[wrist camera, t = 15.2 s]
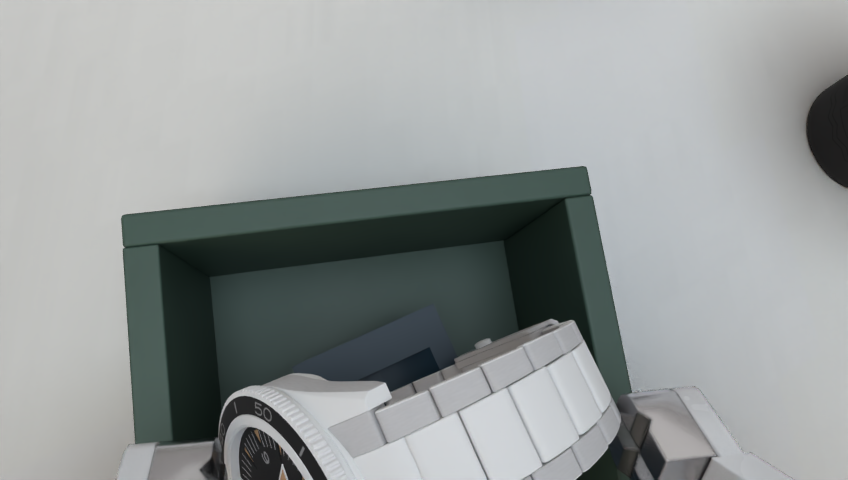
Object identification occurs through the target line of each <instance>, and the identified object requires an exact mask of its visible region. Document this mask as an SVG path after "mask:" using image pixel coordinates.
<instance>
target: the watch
mask: <svg viewBox="0 0 848 480" xmlns="http://www.w3.org/2000/svg"><path fill="white" fill-rule="evenodd" d="M475 348H476V349H474V350H472V351H469V352H467V353H465V354H462V355H461V356H459V357H458V356H457V354H456V352H455V350H454V348H453V346H452V343H451V341H450V339H449V337H448V335H447V332H446V330H445V328H444V326H443V324H442V321H441V319H440V317H439V315H438V313H437V310H436V308H435V306H434V304H431V305H429V306H427V307H424V308H422V309H420V310H418V311H416V312H413V313H411V314H409V315H407V316H404V317H402V318H400V319H398V320H395V321H393V322H391V323H389V324H386V325H384V326H382V327H380V328H378V329H375V330H373V331H371V332H369V333H366V334H364V335H362V336H360V337H357V338H355V339H353V340H351V341H349V342H346V343H344V344H342V345H340V346H337V347H335V348H333V349H331V350H328V351H326V352H324V353H322V354H319V355H317V356H315V357H313V358H311V359H308V360H306V361H304V362H302V363H299V364H297V365H295V366H293V367H292V369H293V371H294V373H293V374H289V375H286V376H283V377H281V378H278V379H276V380H273V381H271V382H269V383H266V384H264V385H262V386H260V385H258V386H257V385H255V386H249V387H246V388H244V389H241V390H239V391H236V392H235V393H233V394H232V395H231V396H230V397H229V398H228V399H227V401H226V403H225V404H224V406H223V409H222V413H221V416H220V421H219V433H218V436H219V440H220V444H221V447H222V451H221V460H220V461H221V462H223V463H224V464H226V469H227V474H228V480H576V479H577V478H578V477H579V476H580V475H581V474H582V472H585V471H587V470H588V469H590V468H591V467H592V466H593V465H594V464H595V463H596V462H597V461H598V459H599V458H600V457H601V456H602V455H603V454H604V453H605V451H606V450H607V449H608V444H610V443H611V442H612V441H613V439H614V438H615V436H616V434H617V432H618V430H619V427H620V423H621V415H620V412H619V410H618V408H617V406H616V404H615V402H614V400H613V398H612V396H611V394H610V392H609V390H608V388H607V386H606V384H605V382H604V380H603V378H602V376H601V373H600V371H599V369H598V367H597V365H596V363H595V361H594V359H593V357H592V355H591V353H590V351H589V349H588V347H587V345H586V343H585V341H584V340H583V337H582V335H581V333H580V331H579V329H578V327H577V325H576V323H575V321H574V320H569V321H566V322H562V323H559V322H558V321H556V320H553V319H549V320H547V321H544V322H541V323H539V324H536V325H533V326H531V327H528V328H526V329H523V330H521V331H518V332H516V333H513V334H511V335H508V336H506V337H503V338H501V339H498V340H496V341H493V342H491V340H490V338H487V339H484V340H481V341H479V342H477V343H476V344H475Z"/></svg>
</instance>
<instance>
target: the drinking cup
mask: <svg viewBox="0 0 848 480" xmlns="http://www.w3.org/2000/svg"><path fill="white" fill-rule="evenodd" d="M807 129H808V138H809V142H810V146H811V149H812V151H813V153H814V155H815V157H816V159H817V161H818V162H819V164H820V165H821V167H822V168H823V169H824V170H825V171H826V172H827V173H828V174H829V175H830V176H831V177H832V178H833V179H834V180H836V181H837V182H838V183H840V184H842V185H843V186H845V187H848V75H846V76H845V77H844V78H842V79H841V80H839V81H838V82H836V83H835V84H833V85H832V86H830V87H829V88H827V89H826V90H825V91H823V92H822V93H821V94H820V95H819V96H818V97H817V99H816V100H815V102H814V103H813V105H812V107H811V110H810V113H809V117H808V126H807Z"/></svg>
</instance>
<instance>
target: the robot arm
mask: <svg viewBox="0 0 848 480" xmlns="http://www.w3.org/2000/svg"><path fill="white" fill-rule="evenodd" d="M616 406H617V408H618V410H619V412H620V415H621V423H620V427H619V430H618V432H617V434H616V436H615V438H614V439H613V441H612V442H611V443H610V444H609V449H610V453H611V456H612V459H613V461H614V463H615V465H616V467H617V469H618V470H619V471H621V472H622V473H623V474H625V475H626V476H627V477H629V480H794V479H792V478H791V477H789V476H788V475H786V474H785V473H783V472H781V471H780V470H778V469H777V468H775V467H773V466H772V465H770V464H769V463H767V462H766V461H764V460H762V459H761V458H759V457H758V456H756V455H754V454H753V453H744V452H743V450H742V449H741V448H740V446H739V445H738V443H737V442H736V441H735V439H734V438H733V436H732V435H731V433H730V432H729V431H728V429H727V428H726V426H725V425H724V423H723V422H722V421H721V419H720V418H719V416H718V415H717V413H716V412H715V411H714V409H713V408H712V406H711V405H710V404H709V402H708V401H707V399H706V398H705V396H704V395H703V394H702V392H701V391H700V390H699V389H698V388H696V387H695V386H692V387H682V388H673V389H659V390H650V391H642V392H634V393H625V394H622V395H621V396H620V397H619V398H618V401H617V404H616ZM221 451H222V447H221V444H220V440H219V437H211V438H198V439H186V440H173V441H160V442H150V443H139V444H129V445H128V446H127V448H126V450H125V451H124V453H123V455H122V459H121V462H120V466H119V469H118V473H117V476H116V479H115V480H228V474H227V469H226V464H224V463H223V462H221V461H220V460H221Z"/></svg>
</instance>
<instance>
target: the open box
mask: <svg viewBox="0 0 848 480" xmlns="http://www.w3.org/2000/svg"><path fill="white" fill-rule="evenodd" d="M590 194H591V187H590V182H589V177H588V172H587V168H586V167H584V166H580V167H571V168H561V169H552V170H542V171H533V172H523V173H514V174H504V175H495V176H485V177H476V178H466V179H457V180H448V181H438V182H429V183H419V184H410V185H400V186H391V187H381V188H372V189H362V190H353V191H343V192H334V193H324V194H315V195H306V196H296V197H287V198H277V199H268V200H258V201H249V202H239V203H230V204H220V205H211V206H201V207H192V208H182V209H173V210H163V211H154V212H145V213H135V214H126V215H123V216H122V218H121V222H122V237H123V246H124V247H125V248H124V249H123V261H124V277H125V292H126V307H127V323H128V338H129V353H130V369H131V384H132V399H133V415H134V430H135V444H139V443H150V442H160V441H173V440H186V439H198V438H211V437H219V436H218V433H219V421H220V416H221V413H222V409H223V406H224V404H225V403H226V401H227V399H228V398H229V397H230V396H231V395H232V394H233V393H235V392H236V391H239V390H241V389H244V388H246V387H249V386H255V385H257V386H258V385H260V386H262V385H264V384H266V383H269V382H271V381H273V380H276V379H278V378H281V377H283V376H286V375H289V374H293V373H294V371H293V369H292V367H293V366H295V365H297V364H299V363H302V362H304V361H306V360H308V359H311V358H313V357H315V356H317V355H319V354H322V353H324V352H326V351H328V350H331V349H333V348H335V347H337V346H340V345H342V344H344V343H346V342H349V341H351V340H353V339H355V338H357V337H360V336H362V335H364V334H366V333H369V332H371V331H373V330H375V329H378V328H380V327H382V326H384V325H386V324H389V323H391V322H393V321H395V320H398V319H400V318H402V317H404V316H407V315H409V314H411V313H413V312H416V311H418V310H420V309H422V308H424V307H427V306H429V305H431V304H434V306H435V308H436V310H437V313H438V315H439V317H440V319H441V321H442V324H443V326H444V328H445V330H446V332H447V335H448V337H449V339H450V341H451V343H452V346H453V348H454V350H455V352H456V354H457V356H458V357H459V356H461V355H462V354H465V353H467V352H469V351H472V350H474V349H476V348H475V344H476V343H477V342H479V341H481V340H484V339H487V338H490V340H491V342H493V341H496V340H498V339H501V338H503V337H506V336H508V335H511V334H513V333H516V332H518V331H521V330H523V329H526V328H528V327H531V326H533V325H536V324H539V323H541V322H544V321H547V320H549V319H553V320H556V321H558V322H559V323H562V322H566V321H569V320H574V321H575V323H576V325H577V327H578V329H579V331H580V333H581V335H582V337H583V340H584V341H585V343H586V345H587V347H588V349H589V351H590V353H591V355H592V357H593V359H594V361H595V363H596V365H597V367H598V369H599V371H600V373H601V376H602V378H603V380H604V382H605V384H606V386H607V388H608V390H609V392H610V394H611V396H612V398H613V400H614V402H615V404H617V401H618V398H619V397H620V396H621V395H622V394H625V393H632V391H631V386H630V381H629V376H628V371H627V366H626V361H625V356H624V351H623V346H622V341H621V336H620V331H619V326H618V321H617V316H616V311H615V306H614V301H613V296H612V291H611V286H610V281H609V276H608V271H607V266H606V261H605V256H604V251H603V246H602V241H601V236H600V231H599V226H598V221H597V216H596V211H595V206H594V201H593V197H592V196H591V195H590ZM576 480H629V477H627V476H626V475H625V474H623V473H622V472H621V471H619V470H618V469H617V467H616V465H615V463H614V461H613V459H612V456H611V453H610V449H609V444H608V449H607V450H606V451H605V453H604V454H603V455H602V456H601V457H600V458H599V459H598V461H597V462H596V463H595V464H594V465H593V466H592V467H591V468H590V469H588V470H587V471H585V472H582V474H581V475H580V476H579V477H578V478H577V479H576Z"/></svg>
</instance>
